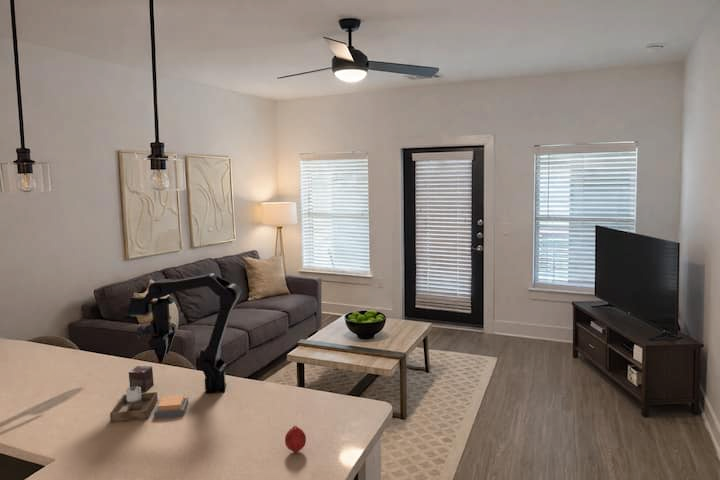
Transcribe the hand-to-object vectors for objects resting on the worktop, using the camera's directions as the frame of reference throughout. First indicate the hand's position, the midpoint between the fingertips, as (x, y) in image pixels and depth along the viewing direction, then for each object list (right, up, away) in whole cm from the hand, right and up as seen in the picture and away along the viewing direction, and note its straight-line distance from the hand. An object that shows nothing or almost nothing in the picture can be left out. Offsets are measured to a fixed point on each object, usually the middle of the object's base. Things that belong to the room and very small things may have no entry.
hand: (163, 357), depth 183 cm
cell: (-4, -14, -15) cm, 20 cm away
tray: (-4, -14, -15) cm, 21 cm away
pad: (+8, -13, -15) cm, 21 cm away
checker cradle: (+8, -14, -15) cm, 22 cm away
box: (-9, -12, +3) cm, 16 cm away
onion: (+52, -17, -41) cm, 68 cm away
